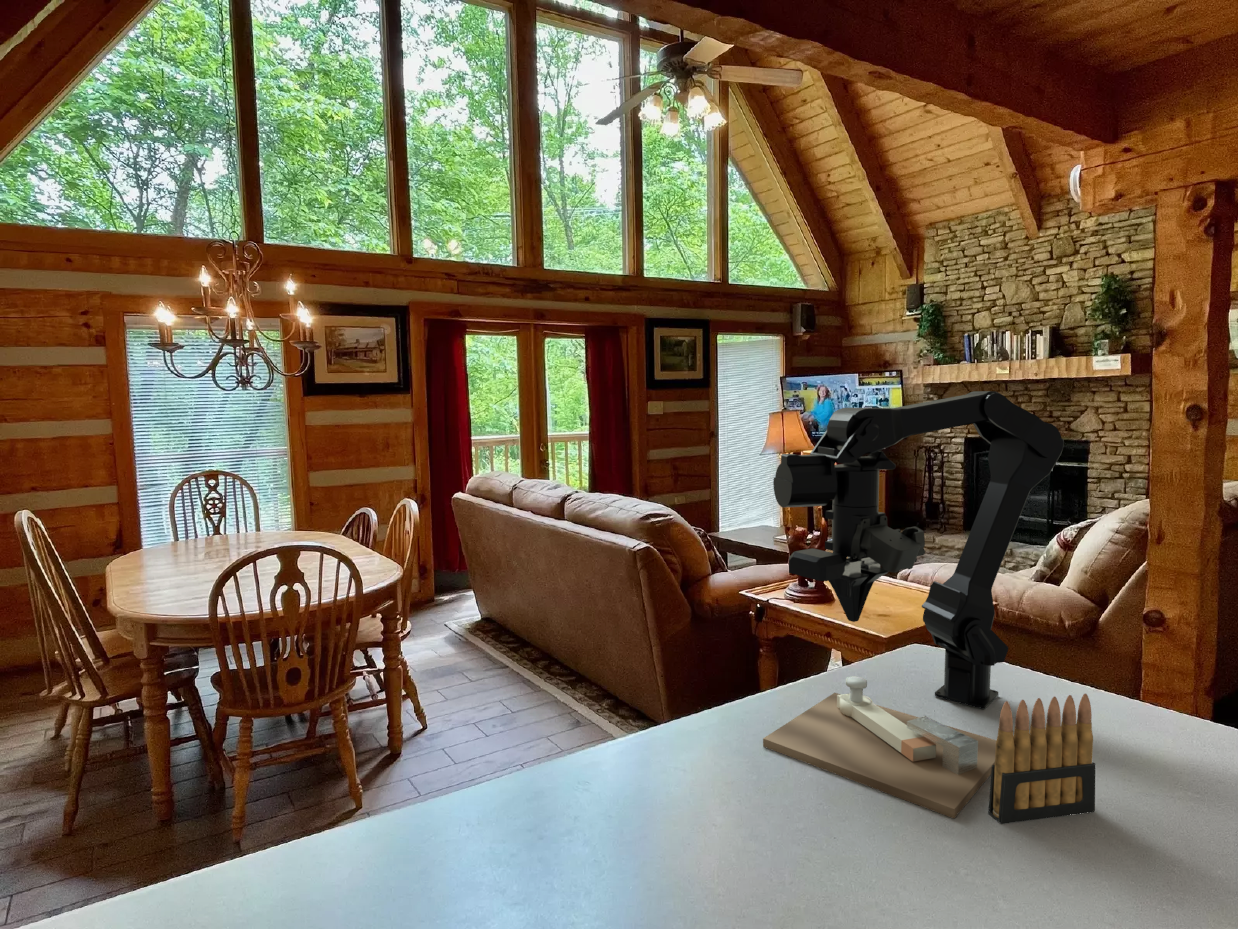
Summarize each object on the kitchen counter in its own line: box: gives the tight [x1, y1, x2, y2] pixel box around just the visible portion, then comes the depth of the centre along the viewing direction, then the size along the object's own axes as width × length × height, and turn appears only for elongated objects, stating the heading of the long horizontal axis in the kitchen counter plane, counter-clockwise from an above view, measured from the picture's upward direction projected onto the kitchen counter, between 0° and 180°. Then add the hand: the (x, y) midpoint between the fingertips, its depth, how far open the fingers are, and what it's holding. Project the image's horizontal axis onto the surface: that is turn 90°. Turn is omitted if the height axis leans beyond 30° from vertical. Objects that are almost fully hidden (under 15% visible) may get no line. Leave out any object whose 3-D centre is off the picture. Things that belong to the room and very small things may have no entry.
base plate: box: [762, 692, 997, 820], centre depth 85 cm, size 18×22×1 cm
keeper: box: [907, 715, 978, 775], centre depth 81 cm, size 3×7×3 cm, turn 26°
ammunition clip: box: [987, 693, 1097, 825], centre depth 72 cm, size 11×2×12 cm, turn 100°
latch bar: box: [837, 676, 936, 762], centre depth 88 cm, size 15×4×4 cm, turn 16°
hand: (853, 621), depth 96 cm, fingers closed
